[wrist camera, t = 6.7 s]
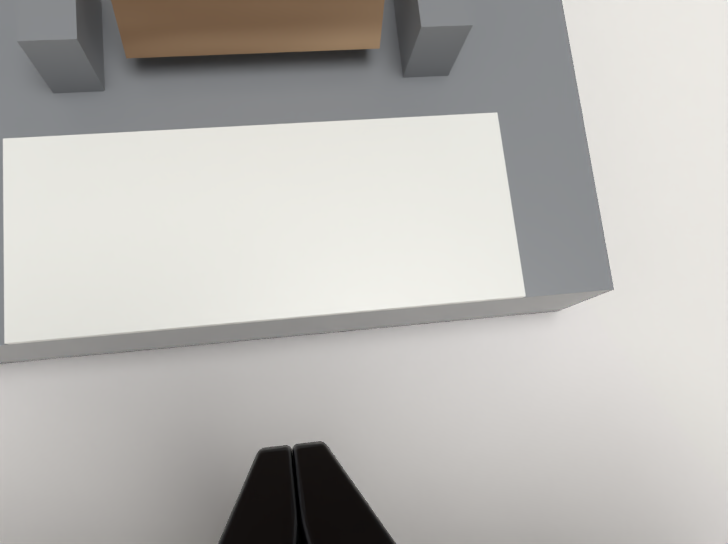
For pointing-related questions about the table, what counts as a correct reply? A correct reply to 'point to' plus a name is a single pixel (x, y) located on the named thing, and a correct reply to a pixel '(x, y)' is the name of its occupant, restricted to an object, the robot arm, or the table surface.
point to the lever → (246, 26)
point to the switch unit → (289, 181)
